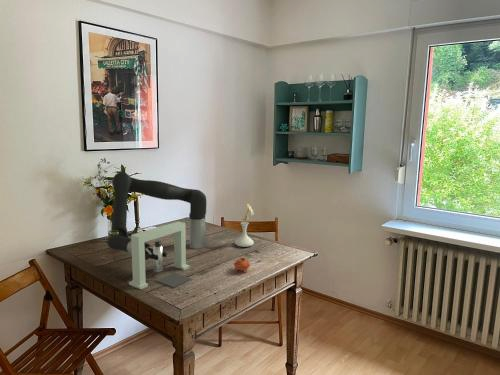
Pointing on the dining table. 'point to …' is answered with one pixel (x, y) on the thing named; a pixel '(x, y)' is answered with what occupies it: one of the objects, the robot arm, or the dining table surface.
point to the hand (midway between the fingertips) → (161, 256)
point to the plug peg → (158, 251)
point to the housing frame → (151, 234)
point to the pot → (242, 264)
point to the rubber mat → (174, 280)
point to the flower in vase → (244, 239)
